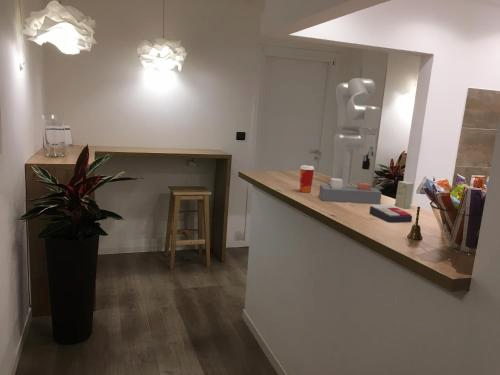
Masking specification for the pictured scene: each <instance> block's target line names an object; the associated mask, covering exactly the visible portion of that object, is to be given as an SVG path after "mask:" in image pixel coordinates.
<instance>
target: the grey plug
mask: <svg viewBox="0 0 500 375" xmlns="http://www.w3.org/2000/svg"><path fill="white" fill-rule="evenodd" d="M329 182H330V188H333V189H342V185H343V180H342V179H335V178H332V177H331V178H330V181H329Z"/></svg>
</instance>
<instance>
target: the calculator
mask: <svg viewBox="0 0 500 375" xmlns="http://www.w3.org/2000/svg"><path fill="white" fill-rule="evenodd" d="M369 215H372V216H374V217H377V218H378V219H380V220H382V221H385V222H387V223H389V224H391V223H392V224H393V223H412V219H413V215H412V214H411V213H408V212H406V211H404V210H402V208H401V209H400V208H399V207H396V206H393V205H370V207H369Z"/></svg>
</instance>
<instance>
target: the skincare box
mask: <svg viewBox="0 0 500 375" xmlns="http://www.w3.org/2000/svg"><path fill="white" fill-rule="evenodd" d="M414 185H415V184H414V183H413V182H409V181H405V180H398V182H397V187H396V188H397V189H396V195H395V202H394V207H397V208H401V209H410V208H411V203H412V198H413V191H414Z"/></svg>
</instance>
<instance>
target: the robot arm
mask: <svg viewBox="0 0 500 375" xmlns="http://www.w3.org/2000/svg"><path fill="white" fill-rule="evenodd" d="M335 89H336V90H335V98H336V103H337V121H336V122H337V123H336V124H337V128H338V130H341V131H348V132H338V133H336V134H335V135H334V139H333V144H334V145H333V146H334V147H333V149H334V150H333V151H334V154H333V163H332V173H331V174H332V175H331V178H335V179H342V180H343V185H342V186H351V184H350V183H349V176H350V175H349V174H350V167H351V166H350V165H351V164H350V163H351V154H350V153H349V150H353V151H354V150H357V151H358V150H359V154H360V155H361V156H363V157H362V165H361V166H362V167H361V169H362V170H368V171H369V170H370V166H371V161H372V160H371V159H372V157H373V156H374V155H375V153H376V152H375V151H376V141H377V136H378V135H379V126H380V119H381V112H382V111H381V107H379V106H375V105H365V103H366V102H367V101H368V100H369V97H371V96H372V95H373V94H374V93H375V91H376V82H375V81H374V80H373V78H361V77H360V78H359V77H355V78H351V79H350V80H349V81H348V82H341V83H339V84H337V86H336V88H335ZM350 131H351V132H350ZM352 132H353V133H352ZM354 132H355V133H354ZM330 182H331V181H329V182H328V185H329V184H330Z"/></svg>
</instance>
